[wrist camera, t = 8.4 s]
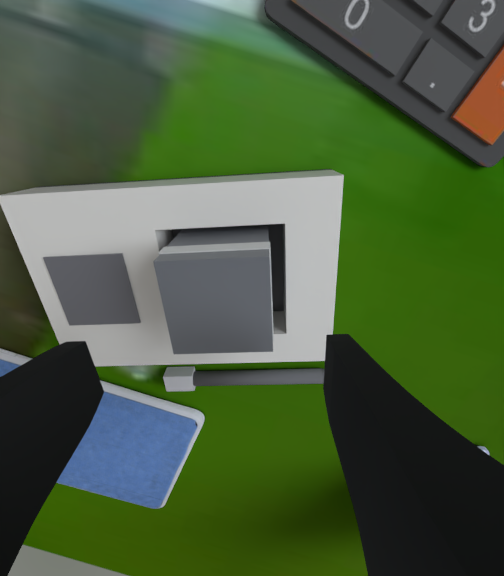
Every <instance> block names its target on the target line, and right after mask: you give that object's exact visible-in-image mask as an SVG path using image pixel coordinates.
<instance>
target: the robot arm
mask: <svg viewBox="0 0 504 576" xmlns="http://www.w3.org/2000/svg"><path fill="white" fill-rule="evenodd" d="M323 389H324V395H325V401H326V407H327V413H328V418H329V423H330V427H331V430H332V434H333V437H334V441H335V445H336V448H337V452H338V455H339V458H340V462H341V465H342V469H343V472H344V476H345V479H346V483H347V486H348V490H349V493H350V496H351V500H352V503H353V507H354V511H355V515H356V519H357V523H358V527H359V531H360V536H361V541H362V546H363V551H364V556H365V561H366V566H367V571H368V576H504V465H502V464H501V463H500V462H498V461H497V460H495V459H494V458H492V457H491V456H489V451H488V450H487V449H486V447H483V446H476V445H474V444H473V443H472V442H470V441H469V440H468V439H466V438H465V437H463V436H462V435H461V434H459V433H458V432H457V431H455V430H454V429H453V428H451V427H450V426H449V425H447V424H446V423H445V422H444V421H442V420H441V419H440V418H439V417H437V416H436V415H435V414H434V413H432V412H431V411H430V410H429V409H428V408H426V407H425V406H424V405H423V404H422V403H420V402H419V401H418V400H417V399H416V398H414V397H413V396H412V395H411V394H410V393H409V392H408V391H406V390H405V389H404V388H403V387H402V386H401V385H400V384H399V383H398V382H397V381H396V380H394V379H393V378H392V377H391V376H390V375H389V374H388V373H387V372H386V371H385V370H384V369H383V368H382V367H381V366H380V365H379V364H378V363H377V362H376V361H375V360H374V359H373V358H372V357H371V356H370V355H369V354H368V353H367V352H366V351H365V350H364V349H363V348H362V347H361V346H360V345H359V344H358V343H357V342H356V341H355V340H354V339H353V338H352V337H351V336H350V335H349V334H333V335H326V352H325V370H324V387H323ZM103 394H104V390H103V387H102V384H101V382H100V379H99V376H98V374H97V371H96V368H95V365H94V363H93V360H92V357H91V355H90V352H89V349H88V346H87V344H86V341H70V342H64V343H62V344H60V345H58V346H56V347H54V348H52V349H50V350H48V351H46V352H44V353H42V354H41V355H39V356H37V357H35V358H33V359H31V360H30V361H28V362H26V363H24V364H23V365H21V366H19V367H17V368H15V369H14V370H12V371H10V372H8V373H7V374H5V375H3V376H1V377H0V576H7V575H8V573H9V571H10V569H11V567H12V565H13V563H14V561H15V559H16V556H17V555H18V553H19V550H20V548H21V546H22V544H23V542H24V540H25V538H26V536H27V534H28V532H29V530H30V528H31V526H32V524H33V522H34V520H35V518H36V517H37V515H38V513H39V511H40V509H41V507H42V506H43V504H44V502H45V500H46V499H47V497H48V495H49V494H50V492H51V490H52V489H53V487H54V485H55V484H56V482H57V480H58V479H59V477H60V475H61V474H62V472H63V470H64V469H65V467H66V465H67V464H68V462H69V460H70V458H71V457H72V455H73V453H74V452H75V450H76V448H77V447H78V445H79V443H80V441H81V440H82V438H83V436H84V435H85V433H86V431H87V429H88V428H89V426H90V424H91V422H92V420H93V417H94V415H95V413H96V411H97V408H98V406H99V404H100V401H101V399H102V396H103Z"/></svg>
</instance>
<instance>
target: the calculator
mask: <svg viewBox="0 0 504 576" xmlns="http://www.w3.org/2000/svg"><path fill="white" fill-rule="evenodd" d="M265 11H266V16H267V17H268V18H269V19H270V20H271V21H272V22H274V23H275V24H276V25H278V26H279V27H281V28H282V29H284V30H285V31H287V32H288V33H289V34H291V35H292V36H294V37H295V38H297V39H298V40H299V41H301V42H302V43H304V44H305V45H307V46H308V47H309V48H311V49H312V50H314V51H315V52H317V53H318V54H320V55H321V56H322V57H324V58H325V59H327V60H328V61H330V62H331V63H332V64H334V65H335V66H337V67H338V68H340V69H341V70H343V71H344V72H345V73H347V74H348V75H350V76H351V77H353V78H354V79H355V80H357V81H358V82H360V83H361V84H363V85H364V86H365V87H367V88H368V89H370V90H371V91H373V92H374V93H376V94H377V95H378V96H380V97H381V98H383V99H384V100H386V101H387V102H388V103H390V104H391V105H393V106H394V107H396V108H397V109H399V110H400V111H401V112H403V113H404V114H406V115H407V116H409V117H410V118H411V119H413V120H414V121H416V122H417V123H419V124H420V125H421V126H423V127H424V128H426V129H427V130H429V131H430V132H432V133H433V134H434V135H436V136H437V137H439V138H440V139H442V140H443V141H444V142H446V143H447V144H449V145H450V146H452V147H453V148H455V149H456V150H457V151H459V152H460V153H462V154H463V155H465V156H466V157H467V158H469V159H470V160H472V161H473V162H475V163H476V164H477V165H480V166H483V167H491V166H494V165H495V164H496V163H497V162H498V161H500V159H501V158H502V157H503V156H504V0H266V2H265Z"/></svg>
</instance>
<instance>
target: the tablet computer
mask: <svg viewBox="0 0 504 576" xmlns="http://www.w3.org/2000/svg"><path fill="white" fill-rule="evenodd" d="M31 359H32V358H29V357H26V356H23V355H20V354H16V353H14V352H10V351H7V350H4V349H1V348H0V377H1V376H3V375H5V374H7V373H8V372H10V371H12V370H14V369H15V368H17V367H19V366H21V365H23V364H24V363H26V362H28V361H30V360H31ZM100 382H101V384H102V387H103V390H104V394H103V396H102V399H101V401H100V404H99V406H98V408H97V411H96V413H95V415H94V417H93V420H92V422H91V424H90V426H89V428H88V429H87V431H86V433H85V435H84V436H83V438H82V440H81V441H80V443H79V445H78V447H77V448H76V450H75V452H74V453H73V455H72V457H71V458H70V460H69V462H68V464H67V465H66V467H65V469H64V470H63V472H62V474H61V475H60V477H59V479H58V480H57V482H56V483H60V484H64V485H67V486H71V487H75V488H79V489H82V490H86V491H90V492H93V493H97V494H101V495H104V496H108V497H112V498H116V499H119V500H123V501H127V502H131V503H134V504H138V505H142V506H145V507H149V508H154V509H157V508H162V507H163V506H164V505H165V504H166V502H167V499H168V497H169V495H170V493H171V491H172V489H173V486H174V484H175V482H176V480H177V478H178V476H179V474H180V472H181V470H182V467H183V465H184V463H185V461H186V459H187V457H188V455H189V453H190V451H191V448H192V446H193V444H194V442H195V440H196V438H197V436H198V434H199V432H200V430H201V428H202V425H203V423H204V420H205V417H204V415H203V413H202V412H200V411H198V410H197V409H193V408H190V407H186V406H183V405H179V404H176V403H173V402H169V401H166V400H162V399H159V398H156V397H153V396H149V395H146V394H143V393H140V392H136V391H133V390H130V389H127V388H124V387H120V386H117V385H114V384H111V383H108V382H105V381H101V380H100Z"/></svg>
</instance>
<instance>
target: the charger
mask: <svg viewBox="0 0 504 576" xmlns="http://www.w3.org/2000/svg"><path fill="white" fill-rule="evenodd" d="M158 254H159V256H158V257H157V258H156V259H155V260H154V261H153V263H154V268H155V272H156V277H157V281H158V286H159V290H160V295H161V299H162V304H163V308H164V313H165V317H166V322H167V326H168V331H169V335H170V340H171V344H172V349H173V353H174V354H205V353H243V352H273V341H274V329H273V302H272V275H271V247H270V242H269V234H268V224H266V225H246V226H226V227H207V228H187V229H182V230H181V231H180V232H179V233H178V235H177V236H176V237H175V238H174V239H173V240H172V241H171V242H170V243H169V245H168V246H167V247H163V248H162V249H161V250H160V252H159V253H158Z"/></svg>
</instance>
